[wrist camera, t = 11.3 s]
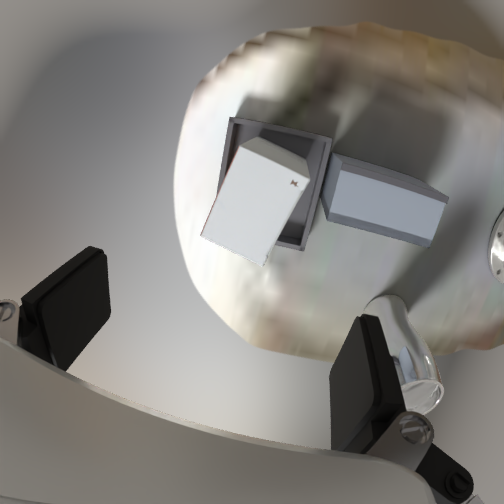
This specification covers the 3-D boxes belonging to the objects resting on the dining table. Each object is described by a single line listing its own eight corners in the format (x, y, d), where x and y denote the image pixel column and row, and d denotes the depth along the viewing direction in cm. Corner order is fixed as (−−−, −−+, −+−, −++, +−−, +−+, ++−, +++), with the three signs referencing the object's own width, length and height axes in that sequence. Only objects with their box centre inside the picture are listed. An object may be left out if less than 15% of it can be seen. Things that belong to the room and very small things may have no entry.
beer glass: (349, 327, 38) (364, 419, 25) (375, 284, 35) (406, 372, 22) (392, 339, 38) (417, 426, 25) (418, 299, 35) (459, 383, 22)
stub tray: (329, 137, 29) (332, 138, 27) (303, 242, 34) (303, 251, 32) (234, 117, 30) (229, 117, 27) (217, 222, 35) (211, 230, 33)
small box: (258, 134, 30) (239, 141, 20) (307, 159, 30) (312, 177, 20) (226, 201, 33) (197, 237, 24) (273, 224, 33) (262, 269, 24)
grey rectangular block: (416, 178, 29) (449, 197, 22) (403, 219, 31) (430, 249, 24) (331, 152, 30) (343, 162, 22) (320, 197, 32) (327, 221, 24)
